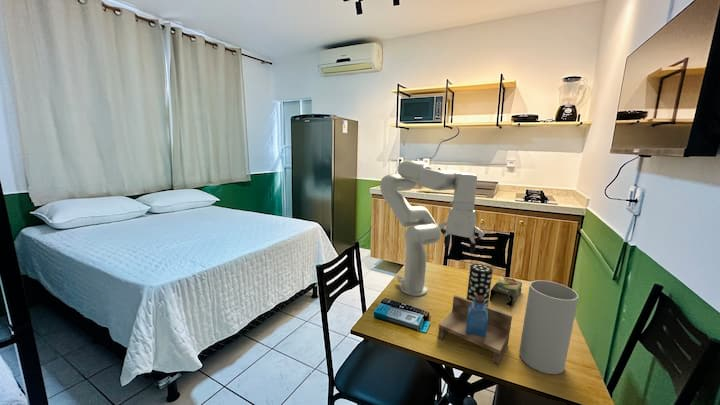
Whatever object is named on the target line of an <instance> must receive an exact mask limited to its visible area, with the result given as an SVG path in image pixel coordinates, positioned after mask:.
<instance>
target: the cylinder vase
mask: <svg viewBox="0 0 720 405" xmlns="http://www.w3.org/2000/svg"><path fill="white" fill-rule="evenodd" d="M526 299H527V301H526V306H525V313H524V319H523V326H522V331H521V332H522V333H521V338H520V344H519V351H518V353H519V357H520V358H521V359H522V360H523V362H524V363H525V364H526V365H527V366H529V367H530V368H532V369H534V370H536V371H538V372H540V373H542V374H547V375H559V374H562V373H563V372H564V371H565V367H566V363H567V357H568V353H569V347H570V343H571V336H572V331H573V327H574V322H575V315H576V311H577V306H578V302H579V301H578V300H579V294H578V293H577V292H576V291H575V290H574V289H572V288H570V287H569V286H567V285H564V284H561V283H558V282H555V281H550V280H542V279H541V280H539V279H538V280H532V281H531V282H530V283H529V287H528V295H527V298H526Z"/></svg>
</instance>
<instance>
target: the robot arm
mask: <svg viewBox="0 0 720 405" xmlns="http://www.w3.org/2000/svg"><path fill="white" fill-rule="evenodd" d="M418 184H419V185H420V186H421V187H423V188H427V189H429V190H432V191H438V192H439V191H452V190H453V200H449V205H451V206H452V207H449V208H450V209H449V211H448V216H447V219H446V221H444V222H442V223H440V224H437V222H436V221H435V219H434V217H433V216H432V214H431V213H430V211H429V210H428V209H427V208H426V207H424V206H422V205H414V206H412V205H411V204H410V203H409V201H408V200H407V199H406V198H405V196H404V195H402V194H401V193H400V192H404V191H405V192H406V191H411V190H412V189H414V188H415V187H416V186H417V185H418ZM477 185H478V176H477V174H475V173H471V172H462V171H459V170H433V169H432V166H430V165H429V164H427V163H426V162H424V161H422V160H404V161H402V162H401V163H400V164H399V165H398V167H397V173H396V174H395V173H394V174H387V175H385V176H384V177H382V178H381V180H380V184H379V186H380V194H381V195H382V197H383V198H384V201H386V202H387V204H388V205H389V207H390V209H391V211H392V212H393V214H394V216H395V217H396V219H397V221H398V222H399V225H401V226H402V227H404V228H406V227H407V228H406V230H405V231H404V241H405V261H404V275H403V276H401V275H398V276H397V280H396V281H397V282H399V283H401V284H400V287H399V289H400V292H402V293H404V294H405V295H408V296H412V297H422V296H425V295H426V294H427V293H428V287H427V286H426V285H425V282H426V281H425V278H426V268H427V267H426V266H427V251H426V249H425V248H424V247H425V246H426V245H431V244H435V243H438V242H439V241H441V237H442V235H443V238H444V239H443V244H444V247H445V248H446V247H449V246H450V242H451V236H450V235H453V236H458V237H463V238H468V239H469V240H470V244H469V251H468V253H470V254H472V253H474V252H475V250H476V244H477V242H479V241H480V240H481V239H482V238H483V237H484V236H485V234H486V232H484V231H483V230H482V229H481V228H479V227H478V226H477V215H476V210H475V202H476V200H475V199H476V192H477ZM476 233H477V234H478V236H477V237H476V235H475V234H476Z"/></svg>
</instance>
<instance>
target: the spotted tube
mask: <svg viewBox="0 0 720 405" xmlns="http://www.w3.org/2000/svg"><path fill="white" fill-rule="evenodd" d="M492 278H493V268H492V267H490V266H489V265H486V264H483V263H472V264H470V265H469V274H468V283H467V291H466V299H468V300H471V301H473V302H474V299H475V296H482V297H484V298H485V300H484V302H485V306H488V307H489V303H490V292H491V284H492Z"/></svg>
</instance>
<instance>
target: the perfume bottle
mask: <svg viewBox="0 0 720 405" xmlns="http://www.w3.org/2000/svg"><path fill="white" fill-rule="evenodd" d="M484 300H485V298H484V297H482V296H475V299H474V303H472V304H471V305H470V306H469V308H468V316H467V325H466V333H469V334H473V335H477V336H481V337H484V338H486V331H487V324H488V311H487V309H486V307H485V302H484Z"/></svg>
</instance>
